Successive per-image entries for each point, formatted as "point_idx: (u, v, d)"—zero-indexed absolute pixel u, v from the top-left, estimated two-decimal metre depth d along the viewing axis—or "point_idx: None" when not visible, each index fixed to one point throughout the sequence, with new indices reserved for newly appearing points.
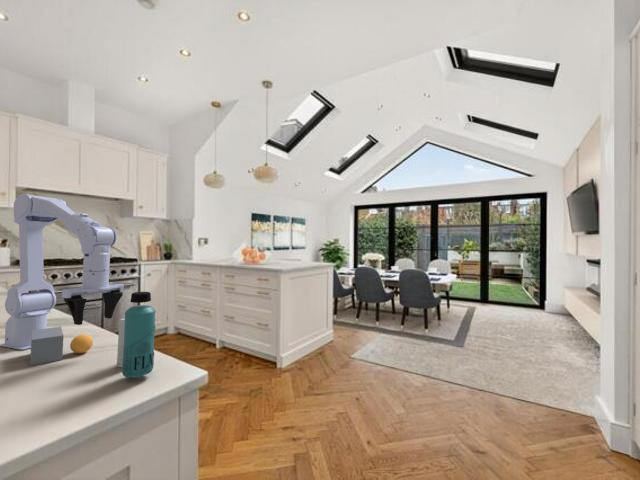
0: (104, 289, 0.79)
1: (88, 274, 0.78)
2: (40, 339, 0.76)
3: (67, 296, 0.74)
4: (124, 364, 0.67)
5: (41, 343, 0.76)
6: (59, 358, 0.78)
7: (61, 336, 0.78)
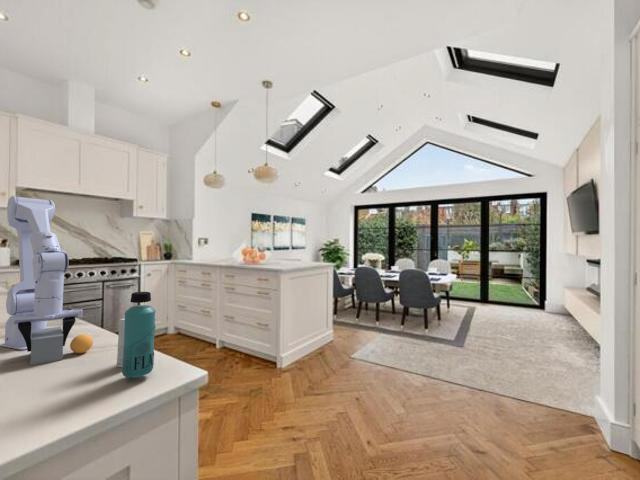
0: (47, 317, 0.77)
1: (35, 301, 0.78)
2: (40, 339, 0.76)
3: (9, 323, 0.75)
4: (124, 364, 0.67)
5: (41, 343, 0.76)
6: (59, 358, 0.78)
7: (61, 336, 0.78)
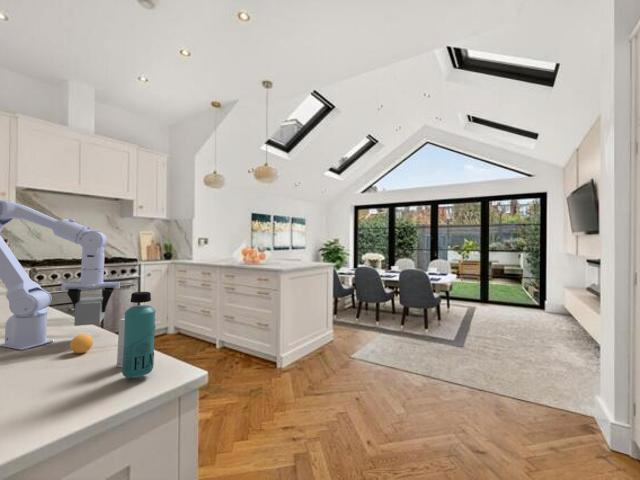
0: (88, 285, 0.91)
1: (81, 272, 0.92)
2: (82, 304, 0.89)
3: (61, 289, 0.90)
4: (124, 364, 0.67)
5: (82, 308, 0.89)
6: (97, 322, 0.91)
7: (98, 303, 0.91)
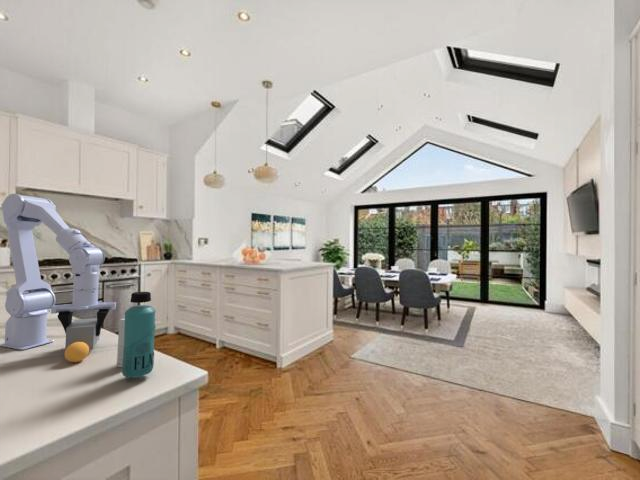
0: (81, 308, 0.82)
1: (73, 292, 0.84)
2: (73, 328, 0.81)
3: (51, 312, 0.82)
4: (124, 364, 0.67)
5: (74, 332, 0.81)
6: (90, 347, 0.82)
7: (92, 326, 0.83)
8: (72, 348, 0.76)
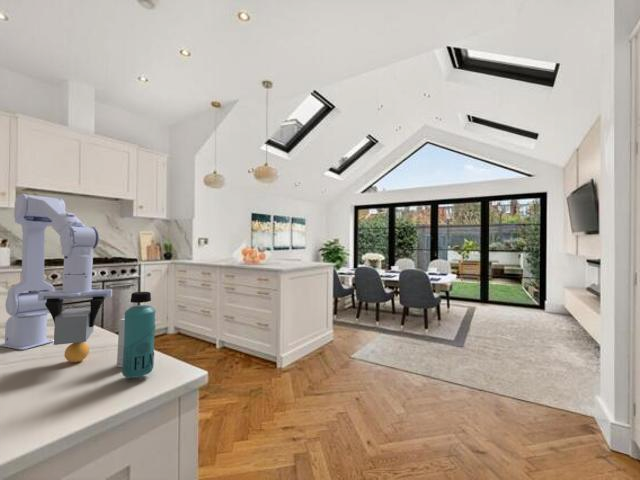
0: (72, 294, 0.73)
1: (63, 277, 0.74)
2: (63, 317, 0.71)
3: (38, 299, 0.72)
4: (124, 364, 0.67)
5: (64, 322, 0.71)
6: (82, 340, 0.73)
7: (85, 316, 0.73)
8: (72, 348, 0.76)
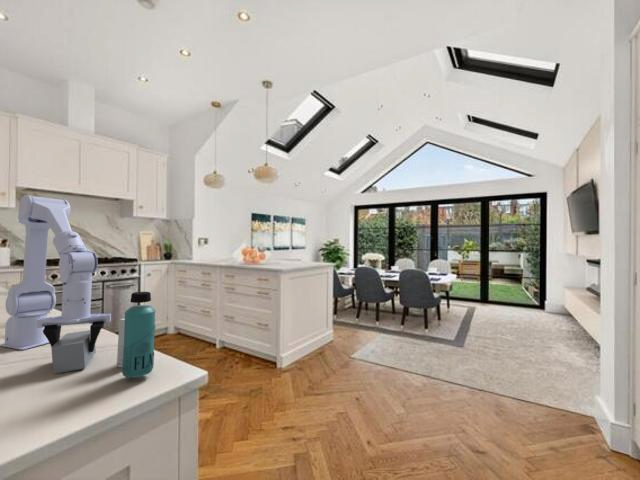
0: (71, 321, 0.73)
1: (62, 303, 0.74)
2: (60, 346, 0.71)
3: (36, 326, 0.72)
4: (124, 364, 0.67)
5: (61, 351, 0.71)
6: (81, 366, 0.73)
7: (81, 343, 0.73)
8: None
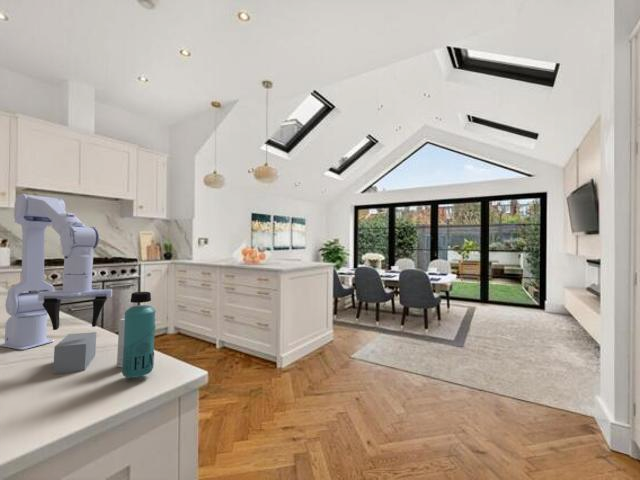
0: (72, 294, 0.73)
1: (63, 277, 0.74)
2: (63, 346, 0.71)
3: (38, 298, 0.72)
4: (124, 364, 0.67)
5: (64, 351, 0.71)
6: (82, 368, 0.73)
7: (84, 344, 0.73)
8: None
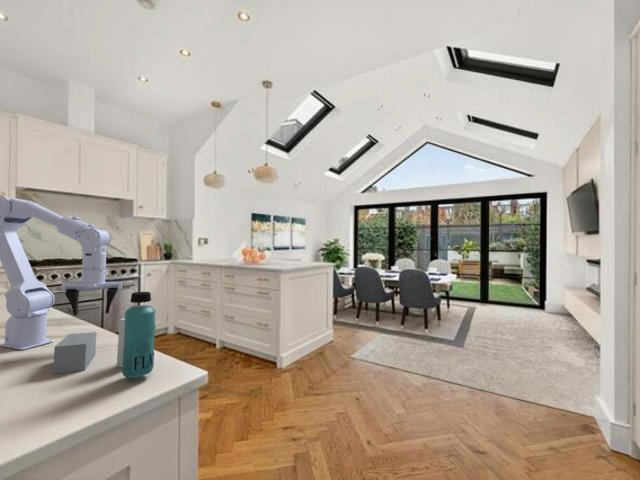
0: (89, 286, 0.87)
1: (82, 271, 0.88)
2: (63, 346, 0.71)
3: (61, 289, 0.86)
4: (124, 364, 0.67)
5: (64, 351, 0.71)
6: (82, 368, 0.73)
7: (84, 344, 0.73)
8: None
